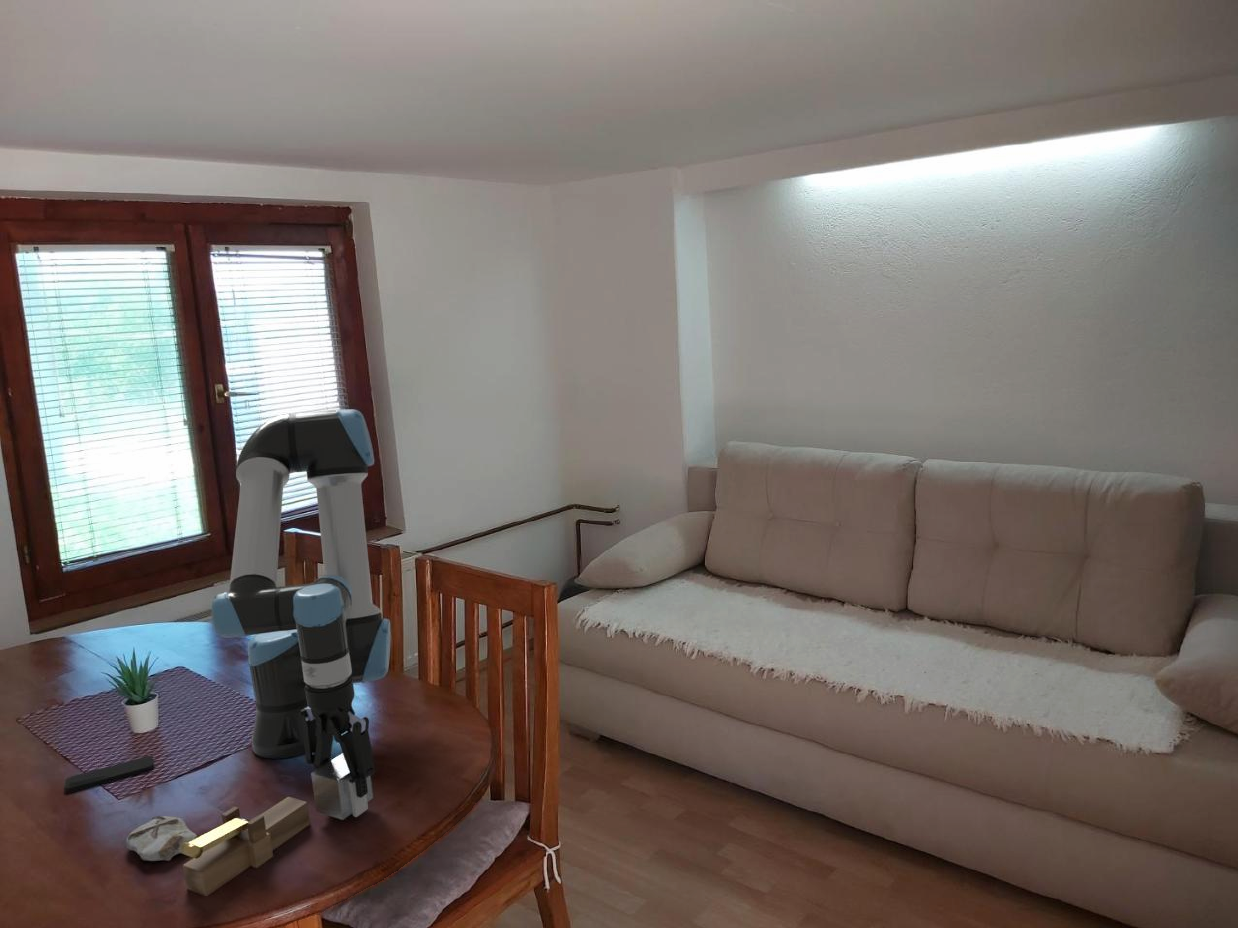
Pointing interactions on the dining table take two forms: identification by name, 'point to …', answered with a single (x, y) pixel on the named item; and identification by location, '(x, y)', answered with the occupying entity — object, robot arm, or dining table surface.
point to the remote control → (108, 774)
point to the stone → (159, 838)
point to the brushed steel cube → (335, 788)
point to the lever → (213, 837)
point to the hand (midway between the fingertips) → (345, 807)
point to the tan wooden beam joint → (246, 845)
